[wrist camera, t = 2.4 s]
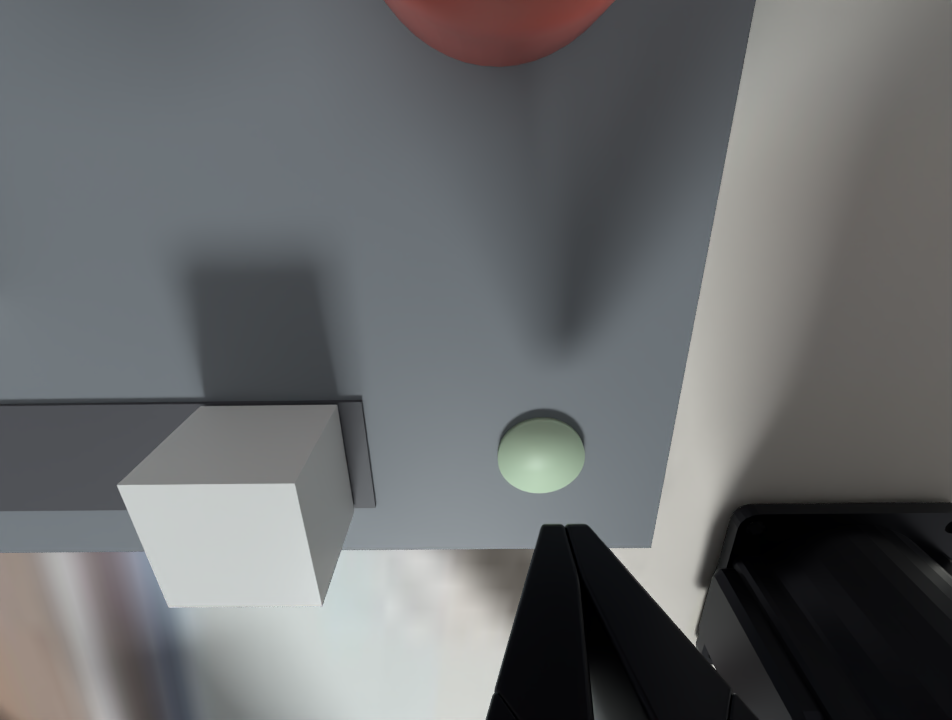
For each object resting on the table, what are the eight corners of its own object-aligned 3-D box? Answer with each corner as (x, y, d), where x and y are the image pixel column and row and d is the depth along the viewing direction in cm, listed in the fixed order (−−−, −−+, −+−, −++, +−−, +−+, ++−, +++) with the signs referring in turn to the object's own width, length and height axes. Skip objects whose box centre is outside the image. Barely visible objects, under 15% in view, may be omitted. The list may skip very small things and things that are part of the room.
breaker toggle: (337, 404, 10) (294, 483, 8) (354, 511, 11) (321, 606, 9) (200, 405, 10) (116, 485, 8) (232, 512, 11) (168, 607, 9)
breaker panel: (789, -458, 6) (982, -829, 4) (633, 506, 14) (667, 587, 11) (-910, -406, 7) (-1713, -722, 4) (-184, 514, 14) (-328, 594, 11)
